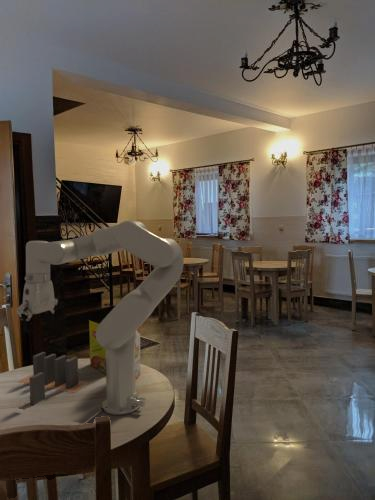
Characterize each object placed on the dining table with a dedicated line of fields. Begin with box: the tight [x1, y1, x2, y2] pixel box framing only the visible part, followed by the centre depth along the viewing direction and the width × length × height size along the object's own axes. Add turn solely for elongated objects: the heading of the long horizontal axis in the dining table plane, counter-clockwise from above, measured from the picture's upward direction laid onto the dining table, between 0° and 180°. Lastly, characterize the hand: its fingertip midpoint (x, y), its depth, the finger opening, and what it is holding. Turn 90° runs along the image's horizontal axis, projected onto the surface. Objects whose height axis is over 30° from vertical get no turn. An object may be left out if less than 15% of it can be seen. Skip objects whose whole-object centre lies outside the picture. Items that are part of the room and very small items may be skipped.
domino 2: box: [29, 372, 46, 406], centre depth 128 cm, size 2×5×10 cm, turn 158°
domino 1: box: [32, 351, 47, 375], centre depth 146 cm, size 2×5×10 cm, turn 158°
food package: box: [88, 319, 106, 374], centre depth 156 cm, size 15×1×20 cm, turn 42°
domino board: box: [17, 373, 89, 394], centre depth 144 cm, size 26×9×1 cm, turn 68°
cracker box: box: [135, 326, 141, 382], centre depth 144 cm, size 14×6×21 cm, turn 168°
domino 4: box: [54, 354, 68, 387], centre depth 142 cm, size 2×5×10 cm, turn 158°
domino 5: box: [65, 356, 79, 389], centre depth 140 cm, size 2×5×10 cm, turn 158°
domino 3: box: [43, 353, 57, 385], centre depth 144 cm, size 2×5×10 cm, turn 158°
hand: (38, 328), depth 129 cm, fingers open, 9 cm apart
